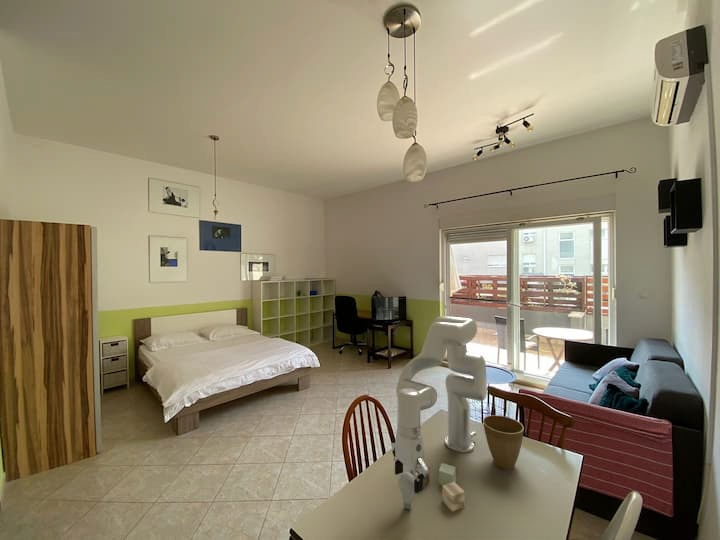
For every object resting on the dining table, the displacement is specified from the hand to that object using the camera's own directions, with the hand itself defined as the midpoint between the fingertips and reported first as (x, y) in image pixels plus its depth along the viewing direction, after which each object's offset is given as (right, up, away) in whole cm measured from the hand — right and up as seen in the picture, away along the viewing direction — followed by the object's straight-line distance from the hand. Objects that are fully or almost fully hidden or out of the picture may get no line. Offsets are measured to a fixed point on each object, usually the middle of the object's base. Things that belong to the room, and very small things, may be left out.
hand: (408, 481), depth 94 cm
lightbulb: (0, -9, 0) cm, 9 cm away
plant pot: (+43, -10, +23) cm, 49 cm away
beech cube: (+15, -9, +2) cm, 18 cm away
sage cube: (+16, -9, +12) cm, 22 cm away
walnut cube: (+7, -9, +13) cm, 17 cm away
